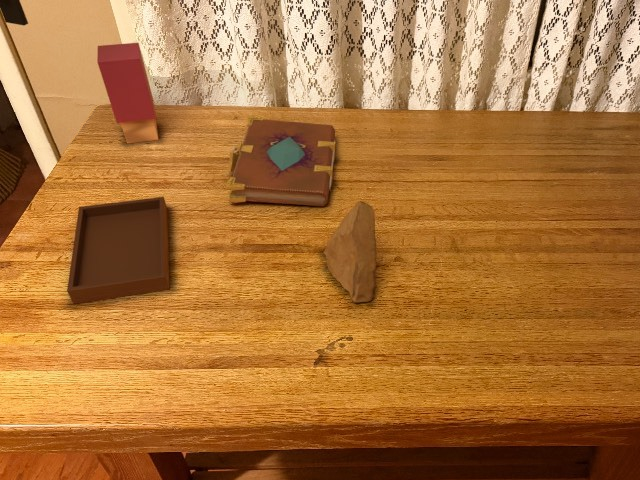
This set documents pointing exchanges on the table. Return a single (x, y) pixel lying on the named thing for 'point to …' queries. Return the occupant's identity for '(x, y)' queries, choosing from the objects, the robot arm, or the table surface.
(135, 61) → the top block
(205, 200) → the table surface
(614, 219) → the table surface
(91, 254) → the tray
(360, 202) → the rock
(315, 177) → the book
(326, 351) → the table surface
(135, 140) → the base block
